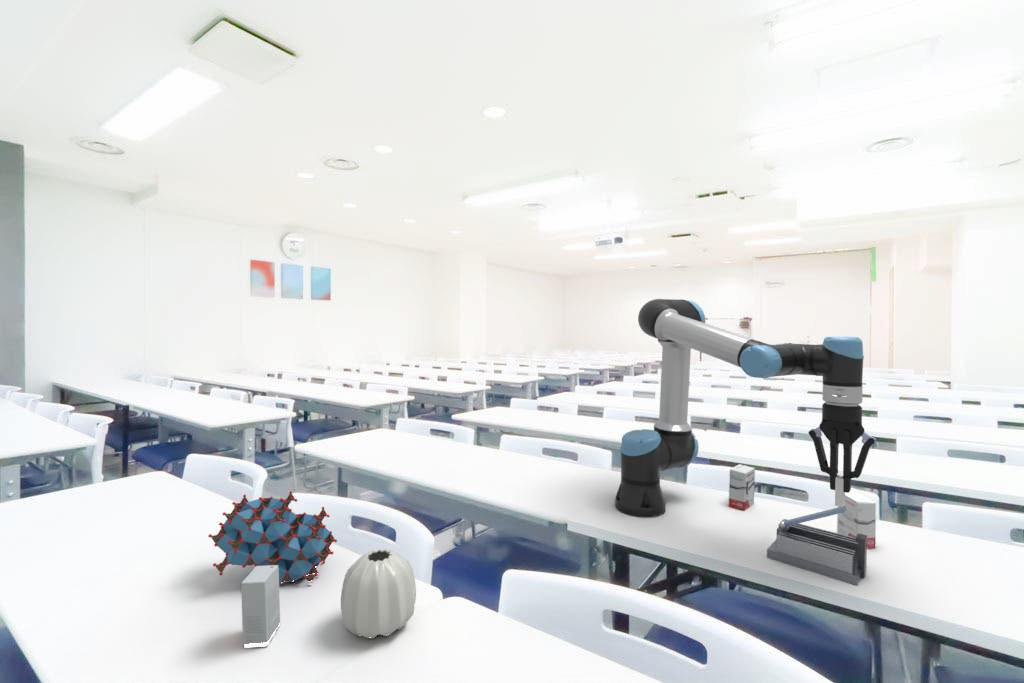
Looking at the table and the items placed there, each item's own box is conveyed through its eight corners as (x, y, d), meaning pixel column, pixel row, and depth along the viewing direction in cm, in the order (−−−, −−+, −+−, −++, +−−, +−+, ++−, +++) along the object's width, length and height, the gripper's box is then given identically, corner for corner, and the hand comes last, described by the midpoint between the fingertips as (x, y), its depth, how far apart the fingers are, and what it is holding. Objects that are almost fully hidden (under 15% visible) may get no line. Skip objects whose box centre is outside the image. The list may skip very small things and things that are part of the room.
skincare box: (257, 627, 89) (256, 565, 88) (280, 626, 89) (279, 564, 89) (241, 649, 83) (240, 582, 82) (266, 648, 83) (265, 581, 83)
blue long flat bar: (780, 529, 117) (777, 524, 117) (784, 525, 119) (781, 519, 120) (845, 514, 107) (841, 508, 108) (848, 509, 110) (844, 503, 110)
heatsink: (766, 557, 115) (767, 521, 115) (780, 541, 124) (781, 508, 124) (860, 586, 102) (861, 546, 102) (869, 566, 111) (870, 529, 111)
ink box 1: (744, 511, 144) (745, 472, 143) (728, 506, 147) (728, 469, 147) (754, 503, 150) (755, 466, 149) (738, 499, 153) (739, 463, 153)
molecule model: (348, 518, 118) (253, 472, 112) (341, 543, 104) (233, 492, 99) (312, 577, 116) (214, 533, 111) (300, 611, 102) (188, 562, 97)
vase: (344, 658, 81) (343, 581, 80) (339, 612, 93) (338, 546, 93) (424, 636, 86) (423, 564, 86) (409, 596, 99) (408, 533, 98)
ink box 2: (876, 548, 120) (877, 502, 119) (856, 548, 120) (857, 502, 120) (854, 533, 128) (855, 490, 128) (835, 533, 129) (836, 490, 128)
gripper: (805, 402, 111) (803, 501, 111) (874, 409, 102) (872, 517, 102) (812, 398, 116) (811, 493, 117) (879, 404, 107) (877, 507, 108)
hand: (839, 504), depth 110 cm, fingers closed
